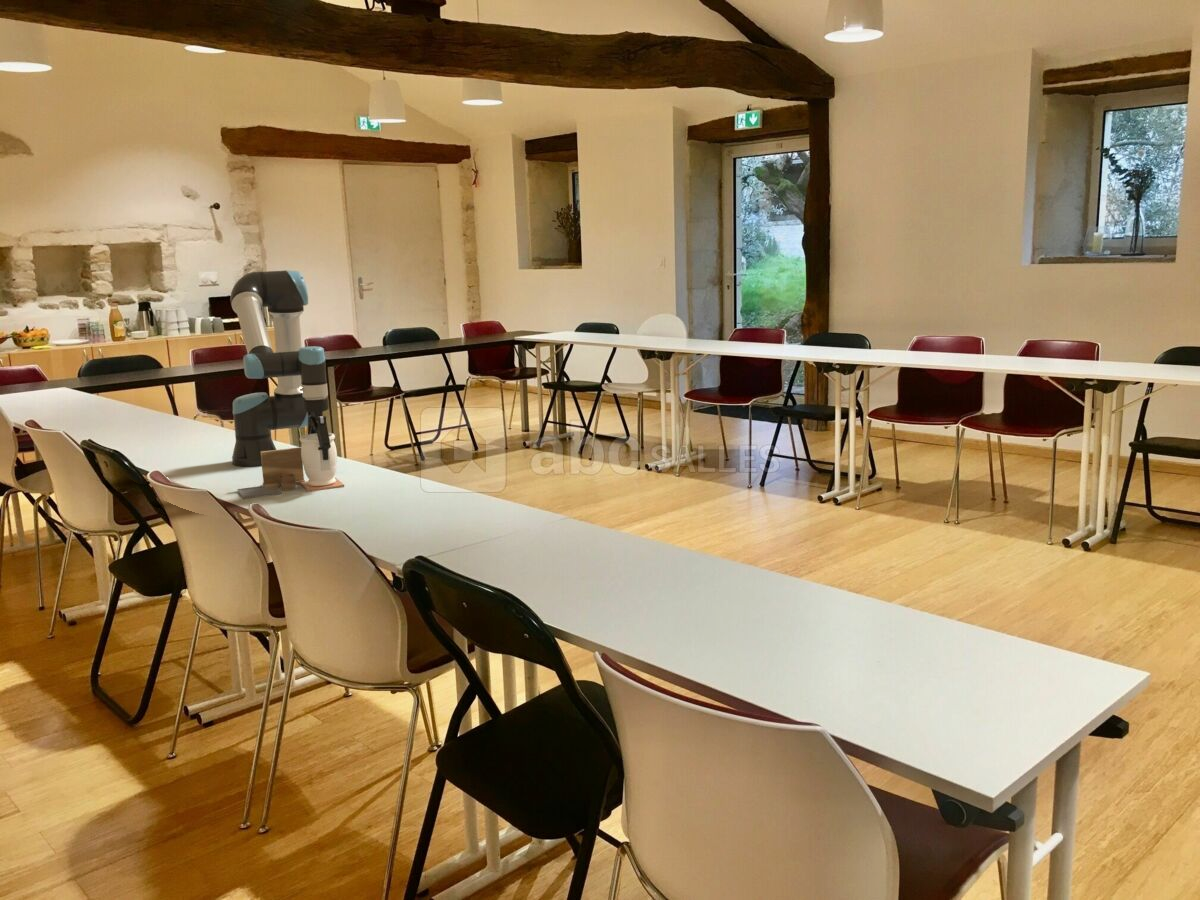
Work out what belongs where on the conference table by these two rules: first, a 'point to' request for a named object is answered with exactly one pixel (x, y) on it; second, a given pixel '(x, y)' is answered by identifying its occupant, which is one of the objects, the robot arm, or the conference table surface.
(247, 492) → the pad slate
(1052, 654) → the conference table surface
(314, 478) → the jar
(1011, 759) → the conference table surface
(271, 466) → the oak screen
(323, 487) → the pad terracotta
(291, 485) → the letter cube
